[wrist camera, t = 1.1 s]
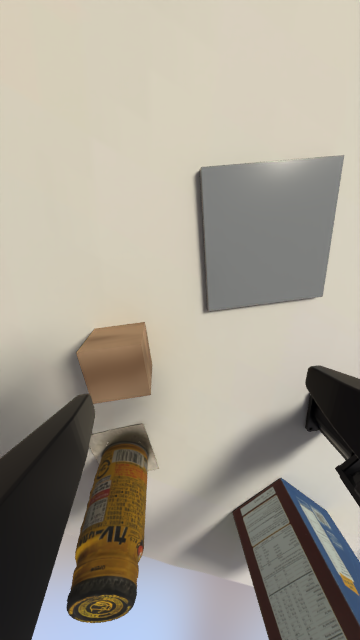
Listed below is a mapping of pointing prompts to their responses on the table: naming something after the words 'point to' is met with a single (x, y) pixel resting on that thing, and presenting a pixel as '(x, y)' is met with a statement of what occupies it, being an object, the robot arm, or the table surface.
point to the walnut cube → (116, 363)
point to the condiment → (112, 527)
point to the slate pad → (268, 229)
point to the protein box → (299, 566)
